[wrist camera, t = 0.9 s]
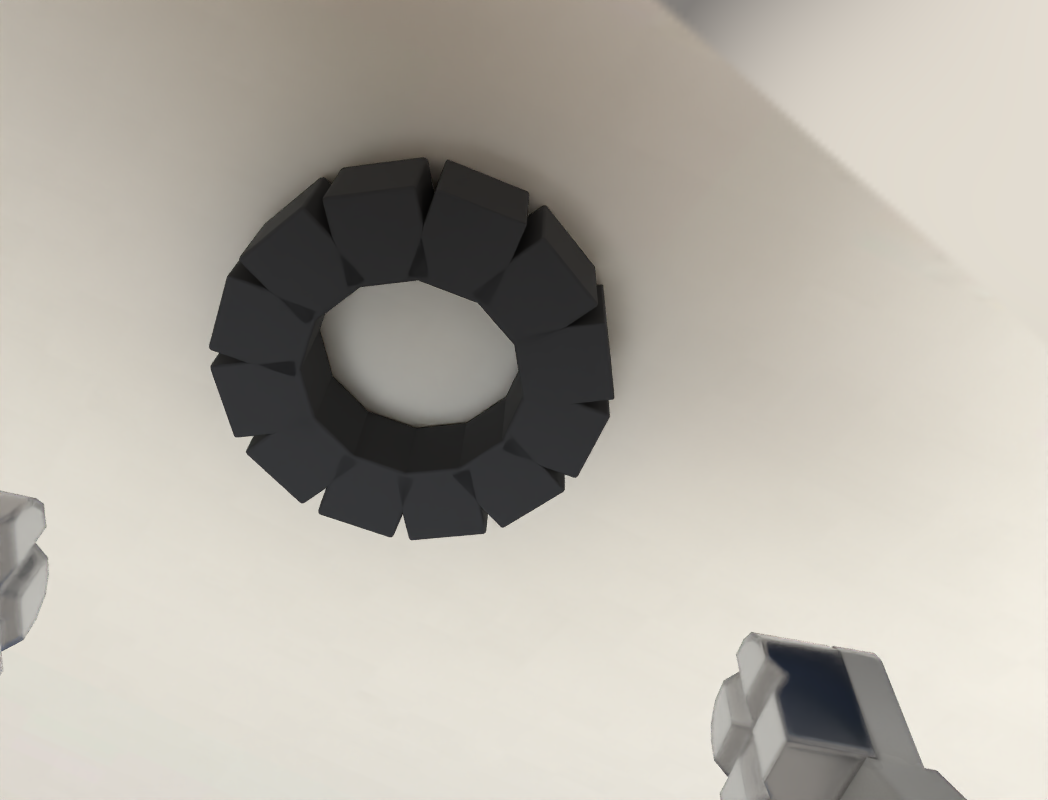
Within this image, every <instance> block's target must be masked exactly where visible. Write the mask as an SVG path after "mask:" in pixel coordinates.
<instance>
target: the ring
mask: <svg viewBox="0 0 1048 800" xmlns="http://www.w3.org/2000/svg"><path fill="white" fill-rule="evenodd" d="M528 201H529V192H527V191H525V190H522V189H520V188H517V187H515V186H512V185H510V184H507V183H505V182H502V181H500V180H497V179H495V178H492V177H490V176H488V175H485V174H483V173H480V172H478V171H475V170H473V169H470V168H468V167H465V166H463V165H460V164H458V163H455V162H453V161H450V160H447V161H446V163H445V165H444V168H443V171H442V174H441V176H440V179H439V182H438V185H437V187H436V190H435V193H434V189H433V184H432V179H431V174H430V169H429V163H428V160H427V158H424V157H423V158H415V159H408V160H400V161H392V162H385V163H377V164H369V165H362V166H354V167H346V168H343V169H341V171H340V172H339V174H338V175H337V177H336V178H335V180H334V181H333V183H332V185H331V184H330V183H329V182H328V181H327V179H326V178H324V177H322V178H320V179H318V180H317V181H316V182H315V183H314V184H312V185H311V186H310V187H309V188H308V189H306V190H305V191H304V192H303V193H302V194H300V195H299V196H298V197H297V198H296V199H294V200H293V201H292V202H291V203H290V204H288V205H287V206H286V207H285V208H283V209H282V210H281V211H280V212H279V213H277V214H276V215H275V216H274V217H273V218H271V219H270V220H269V221H268V222H267V223H265V224H264V225H263V227H262V228H261V229H260V231H259V232H258V233H257V235H256V236H255V237H254V239H253V240H252V241H251V243H250V244H249V245H248V247H247V248H246V249H245V251H244V252H243V253H242V255H241V256H240V258H239V261H238V263H237V264H236V265H235V267H234V268H233V269H232V271H231V272H230V273H229V275H228V276H227V279H226V283H225V287H224V291H223V294H222V298H221V302H220V306H219V310H218V314H217V318H216V321H215V325H214V329H213V333H212V337H211V341H210V344H209V348H210V349H211V350H213V351H216V352H218V353H219V354H218V355H217V357H216V358H215V360H214V362H213V363H212V365H211V371H212V374H213V377H214V380H215V383H216V386H217V388H218V391H219V394H220V397H221V400H222V403H223V405H224V408H225V411H226V414H227V417H228V420H229V422H230V425H231V428H232V431H233V434H234V436H235V437H246V436H254V437H253V439H252V441H251V442H250V444H249V446H248V448H247V450H246V453H247V455H249V456H250V457H251V458H252V459H253V460H254V461H255V462H256V463H257V464H258V465H260V466H261V467H262V468H263V469H264V470H265V471H266V472H267V473H268V474H269V475H271V476H272V477H273V478H274V479H275V480H276V481H277V482H278V483H279V484H280V485H282V486H283V487H284V488H285V489H286V490H287V491H288V492H289V493H290V494H291V495H292V496H294V497H295V498H296V499H297V500H298V501H299V502H300V503H305V502H306V501H308V500H309V499H311V498H312V497H314V496H315V495H317V494H318V493H320V492H321V491H322V490H324V489H325V488H326V490H325V493H324V496H323V499H322V501H321V504H320V507H319V510H318V511H319V514H321V515H324V516H327V517H330V518H333V519H336V520H339V521H342V522H345V523H348V524H351V525H354V526H357V527H360V528H363V529H366V530H369V531H372V532H375V533H378V534H381V535H384V536H387V537H392V536H393V535H394V533H395V531H396V529H397V526H398V524H399V522H400V519H401V517H402V515H403V516H404V520H405V524H406V528H407V532H408V536H409V539H410V540H419V539H430V538H441V537H452V536H464V535H475V534H484V533H486V527H487V518H488V514H489V515H490V516H491V517H492V518H493V519H494V520H495V521H496V522H497V523H498V524H499V525H500V527H502V528H503V527H505V526H507V525H509V524H510V523H512V522H514V521H515V520H517V519H519V518H520V517H522V516H524V515H525V514H527V513H529V512H530V511H532V510H534V509H535V508H537V507H539V506H540V505H542V504H544V503H545V502H547V501H549V500H550V499H552V498H554V497H555V496H557V495H559V494H560V493H562V492H563V491H564V490H565V475H568V476H571V477H575V478H576V477H577V476H578V475H579V473H580V471H581V469H582V467H583V466H584V464H585V462H586V460H587V458H588V456H589V454H590V453H591V451H592V449H593V447H594V445H595V443H596V441H597V440H598V438H599V436H600V434H601V432H602V430H603V428H604V426H605V425H606V423H607V421H608V419H609V417H610V412H609V400H613V399H614V388H613V378H612V367H611V357H610V347H609V338H608V329H607V319H606V310H605V300H604V291H603V285H596V274H595V267H594V266H593V264H592V263H591V262H590V261H589V259H588V258H587V257H586V255H585V254H584V253H583V252H582V250H581V249H580V248H579V247H578V245H577V244H576V243H575V242H574V240H573V239H572V238H571V236H570V235H569V234H568V233H567V231H566V230H565V229H564V228H563V226H562V225H561V224H560V223H559V221H558V220H557V219H556V218H555V216H554V215H553V214H552V212H551V211H550V210H549V209H548V207H546V206H542V207H541V208H539V209H538V210H537V211H535V212H534V213H532V214H531V215H530V216H528V217H527V212H528ZM416 280H419V281H421V282H424V283H427V284H429V285H432V286H435V287H437V288H440V289H443V290H445V291H448V292H450V293H453V294H456V295H458V296H461V297H464V298H466V299H469V300H472V301H474V302H477V303H478V304H479V305H480V306H481V307H482V308H483V309H484V311H485V312H486V313H487V314H488V315H489V316H490V317H491V319H492V320H493V321H494V322H495V323H496V324H497V325H498V327H499V328H500V329H501V330H502V331H503V332H504V333H505V335H506V336H507V337H508V338H509V339H510V340H511V341H512V343H513V344H514V346H515V352H516V358H517V364H518V370H519V371H518V373H517V375H516V377H515V379H514V381H513V384H512V386H511V388H510V390H509V392H508V394H507V396H506V398H504V399H503V400H501V401H500V402H498V403H497V404H495V405H494V406H492V407H490V408H489V409H487V410H486V411H484V412H483V413H481V414H480V415H478V416H477V417H475V418H474V419H472V420H471V421H469V422H468V423H465V424H455V425H445V426H435V427H425V428H413V427H410V426H408V425H405V424H402V423H399V422H396V421H393V420H391V419H388V418H385V417H382V416H379V415H376V414H373V413H371V412H368V411H367V410H366V409H365V408H364V407H363V406H362V405H361V404H360V403H359V402H358V401H357V400H356V399H355V398H354V397H353V396H352V395H351V394H350V393H349V392H348V391H347V390H346V389H345V388H344V387H343V386H342V385H341V384H340V383H339V382H338V381H337V380H336V379H335V378H334V377H333V376H332V373H331V369H330V366H329V362H328V359H327V355H326V352H325V348H324V344H323V341H322V337H321V334H320V327H321V324H322V321H323V318H324V315H325V313H327V312H328V311H329V310H331V309H332V308H333V307H335V306H336V305H337V304H338V303H340V302H341V301H342V300H344V299H345V298H346V297H348V296H349V295H350V294H352V293H353V292H354V291H356V290H357V289H358V288H360V287H365V286H373V285H382V284H390V283H399V282H407V281H416Z"/></svg>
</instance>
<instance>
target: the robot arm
mask: <svg viewBox="0 0 1048 800" xmlns="http://www.w3.org/2000/svg"><path fill="white" fill-rule="evenodd" d="M45 528H46V520H45V510H44V504H43V503H42V502H41V501H39V500H38V499H36V498H33V497H28V496H23V495H18V494H14V493H9V492H4V491H0V675H1V673H2V672H3V665H2V653H1V651H3V650H5V649H7V648H9V647H11V646H13V645H15V644H17V643H19V642H20V641H22V640H24V638H25V637H26V635H27V633H28V632H29V630H30V629H31V627H32V625H33V624H34V622H35V621H36V619H37V616H38V613H39V611H40V608H41V605H42V603H43V600H44V597H45V595H46V589H47V582H48V575H49V572H48V557H47V556H46V555H45V554H44V552H43V551H42V550H41V549H40V548H39V546H38V545H37V544H36V543H35V542H36V541H37V539H38V538H39V537H40V535H41V534H42V532H43V531H44V530H45ZM736 656H737V661H738V666H739V671H740V672H738V673H736V674H734V675H733V676H731V677H729V678H727V679H726V680H724V681H723V683H722V686H721V688H720V690H719V693H718V695H717V697H716V700H715V704H714V710H713V715H712V721H711V743H712V749H713V756H714V761H715V762H716V763H717V764H718V766H719V767H720V768H721V769H722V770H723V772H724V773H725V774H726V775H727V776H728V779H727V781H726V783H725V785H724V786H723V788H722V790H721V792H720V798H721V800H967V799H965V798H964V797H963V796H962V795H961V794H960V793H959V792H958V791H957V790H956V789H955V788H954V787H953V786H952V785H951V784H950V783H949V782H948V781H947V780H946V779H945V778H944V777H943V776H942V775H941V774H940V773H939V772H938V771H936V770H931V769H926V768H924V766H923V763H922V761H921V758H920V756H919V753H918V751H917V748H916V746H915V743H914V741H913V738H912V736H911V733H910V731H909V728H908V726H907V723H906V721H905V718H904V716H903V713H902V711H901V708H900V706H899V703H898V701H897V698H896V696H895V693H894V691H893V688H892V686H891V683H890V681H889V678H888V675H887V673H886V670H885V668H884V665H883V663H882V661H881V659H880V658H879V657H878V656H877V655H876V654H875V653H871V652H865V651H859V650H853V649H848V648H842V647H836V646H833V647H830V646H827V645H821V644H816V643H810V642H804V641H799V640H793V639H788V638H782V637H777V636H771V635H765V634H760V633H754V632H751V633H750V634H749V635H748V636H747V637H746V638H745V639H744V640H743V642H742V644H741V646H740V648H739V650H738V652H737V654H736Z"/></svg>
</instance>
